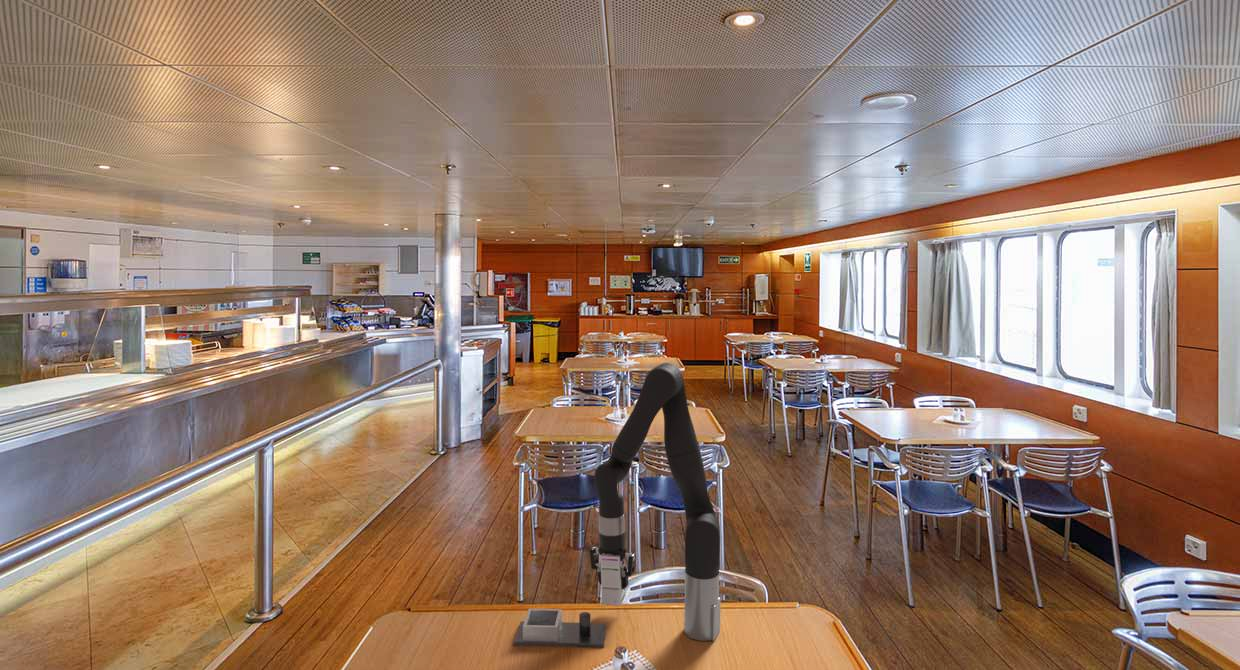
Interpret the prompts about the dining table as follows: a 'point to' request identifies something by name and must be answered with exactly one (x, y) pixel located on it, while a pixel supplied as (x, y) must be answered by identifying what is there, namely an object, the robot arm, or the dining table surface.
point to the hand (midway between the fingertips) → (613, 585)
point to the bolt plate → (559, 630)
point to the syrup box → (611, 580)
